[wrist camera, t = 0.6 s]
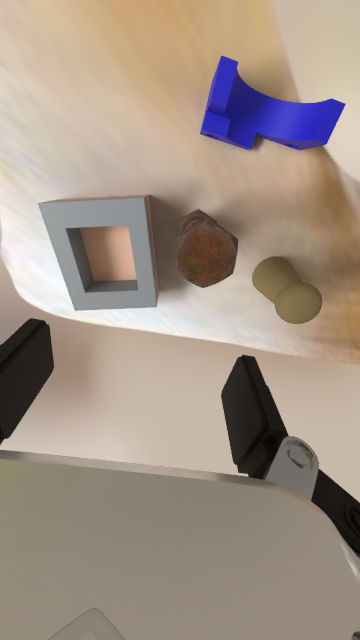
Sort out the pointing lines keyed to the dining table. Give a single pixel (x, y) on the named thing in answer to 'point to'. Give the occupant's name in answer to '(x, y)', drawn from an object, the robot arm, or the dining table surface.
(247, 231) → the dining table surface
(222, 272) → the bolt
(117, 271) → the socket block
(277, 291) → the cork
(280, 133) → the cable clip
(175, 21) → the dining table surface
